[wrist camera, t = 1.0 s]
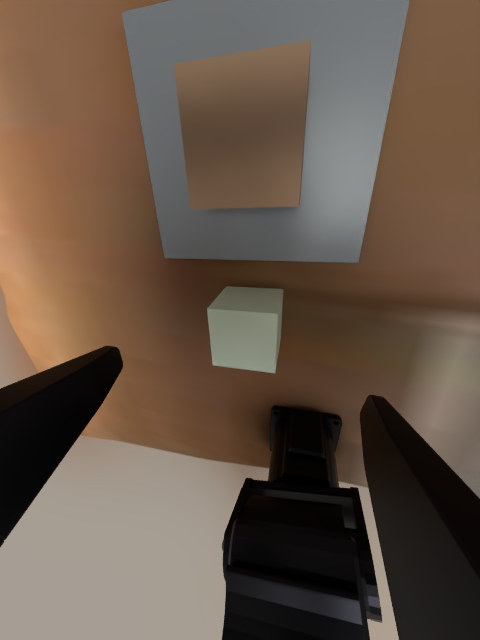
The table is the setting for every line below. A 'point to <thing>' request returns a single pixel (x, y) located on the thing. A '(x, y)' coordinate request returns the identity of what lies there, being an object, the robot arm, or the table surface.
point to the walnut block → (245, 126)
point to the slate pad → (321, 120)
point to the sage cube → (246, 328)
